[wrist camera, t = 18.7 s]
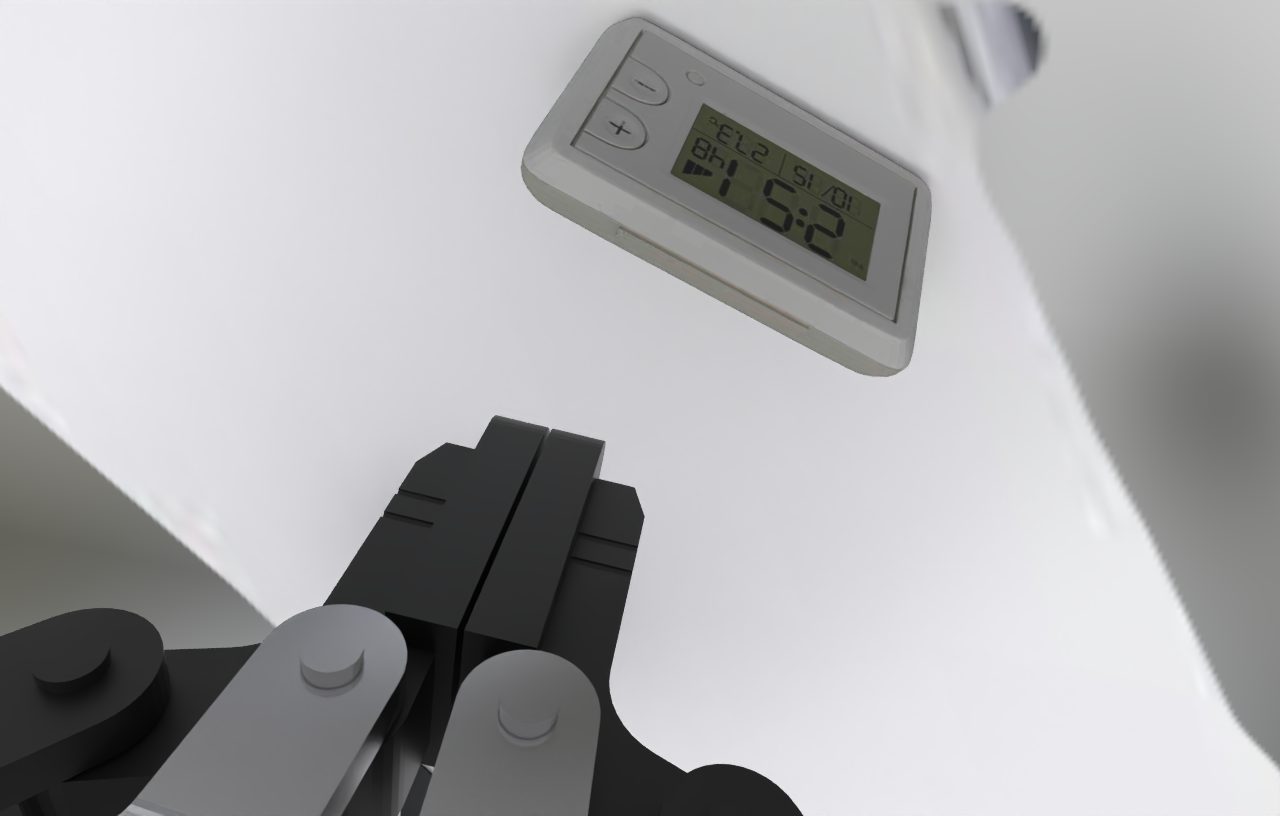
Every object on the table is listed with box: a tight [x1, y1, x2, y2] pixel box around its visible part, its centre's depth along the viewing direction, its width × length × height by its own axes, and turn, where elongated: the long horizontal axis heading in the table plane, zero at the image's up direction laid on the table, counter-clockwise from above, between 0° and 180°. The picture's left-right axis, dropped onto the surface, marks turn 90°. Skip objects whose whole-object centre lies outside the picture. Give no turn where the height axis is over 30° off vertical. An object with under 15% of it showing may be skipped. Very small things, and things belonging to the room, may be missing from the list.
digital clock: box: [521, 18, 931, 377], centre depth 33 cm, size 16×9×11 cm, turn 52°
